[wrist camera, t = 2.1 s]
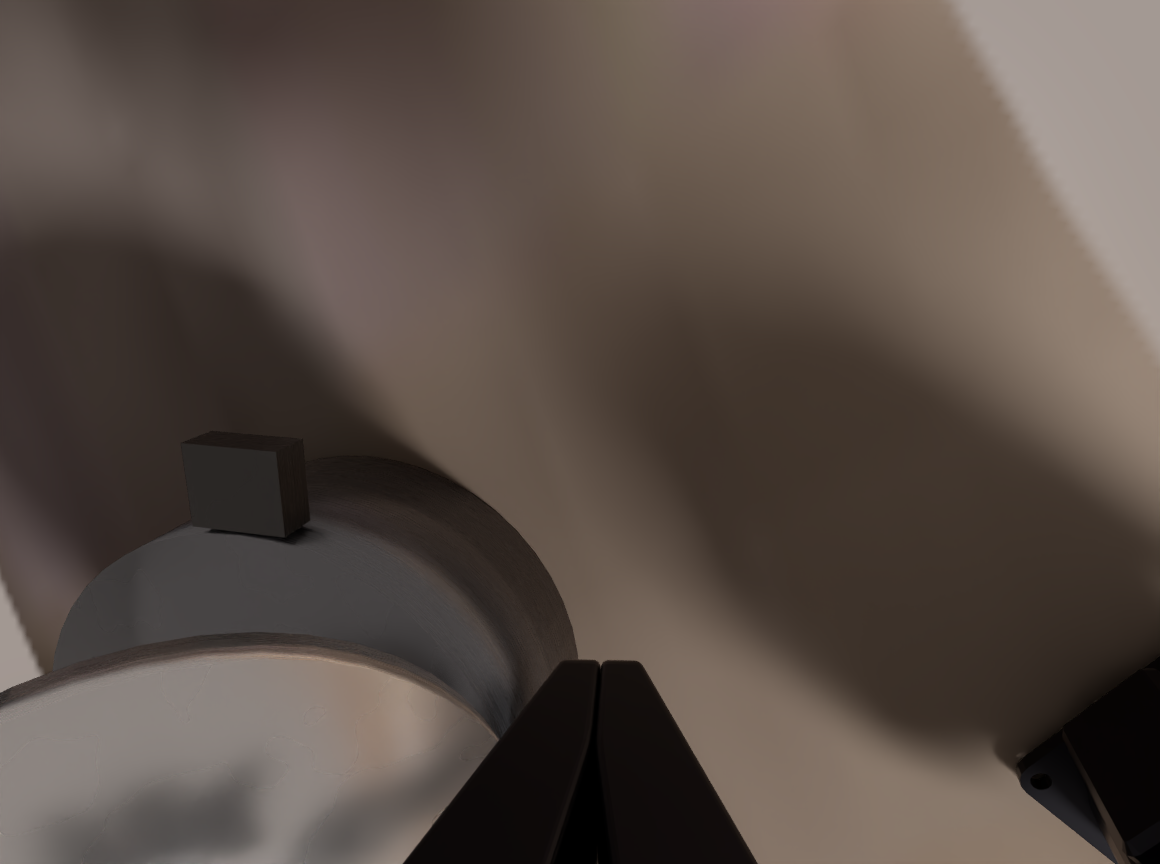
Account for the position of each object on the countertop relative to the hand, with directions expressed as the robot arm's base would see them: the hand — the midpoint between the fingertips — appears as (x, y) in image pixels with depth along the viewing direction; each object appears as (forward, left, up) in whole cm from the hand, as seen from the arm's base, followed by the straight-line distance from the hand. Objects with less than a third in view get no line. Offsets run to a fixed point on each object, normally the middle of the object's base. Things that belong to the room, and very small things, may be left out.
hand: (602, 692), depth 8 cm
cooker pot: (+3, +13, -13) cm, 18 cm away
